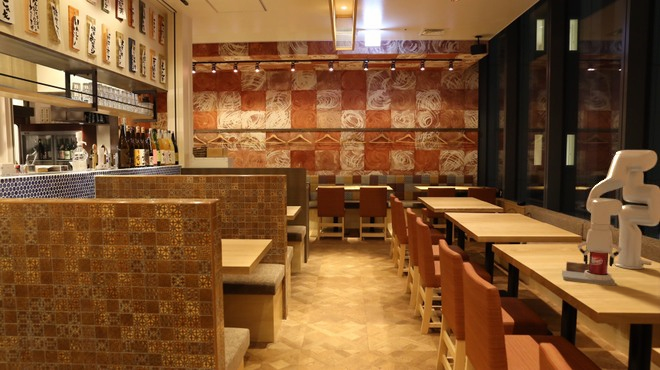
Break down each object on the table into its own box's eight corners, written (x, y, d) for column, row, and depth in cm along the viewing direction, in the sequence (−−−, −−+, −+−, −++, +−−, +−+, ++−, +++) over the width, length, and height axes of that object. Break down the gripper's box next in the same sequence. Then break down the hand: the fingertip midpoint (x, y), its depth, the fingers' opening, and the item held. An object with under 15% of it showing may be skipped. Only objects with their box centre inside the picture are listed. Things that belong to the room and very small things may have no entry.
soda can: (597, 279, 203) (599, 253, 202) (584, 275, 210) (586, 249, 209) (610, 278, 205) (612, 252, 204) (597, 274, 212) (598, 248, 211)
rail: (604, 275, 215) (604, 265, 215) (604, 276, 214) (605, 265, 214) (566, 271, 222) (566, 261, 222) (566, 272, 220) (566, 262, 220)
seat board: (610, 278, 210) (610, 271, 210) (614, 285, 199) (615, 277, 199) (562, 273, 218) (562, 266, 218) (563, 279, 207) (563, 272, 207)
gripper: (621, 227, 205) (619, 264, 207) (577, 224, 212) (576, 260, 214) (624, 230, 199) (622, 268, 200) (579, 227, 206) (577, 264, 207)
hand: (598, 264), depth 207 cm, fingers open, 9 cm apart
